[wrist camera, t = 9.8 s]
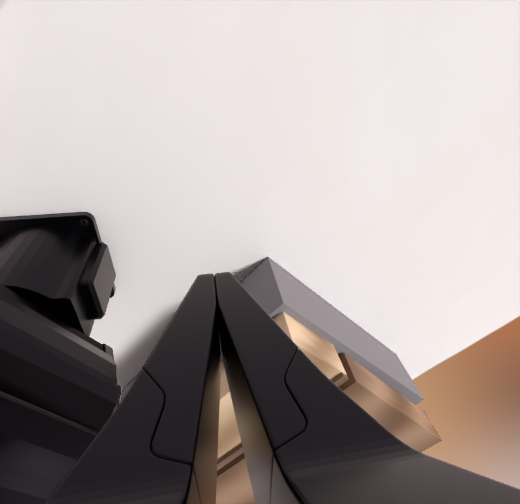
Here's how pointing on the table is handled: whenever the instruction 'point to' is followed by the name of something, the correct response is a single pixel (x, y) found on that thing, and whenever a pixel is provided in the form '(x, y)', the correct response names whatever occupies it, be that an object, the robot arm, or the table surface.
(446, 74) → the table surface
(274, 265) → the underlay block
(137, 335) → the table surface
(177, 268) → the table surface
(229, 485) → the walnut plank
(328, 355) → the oak panel
